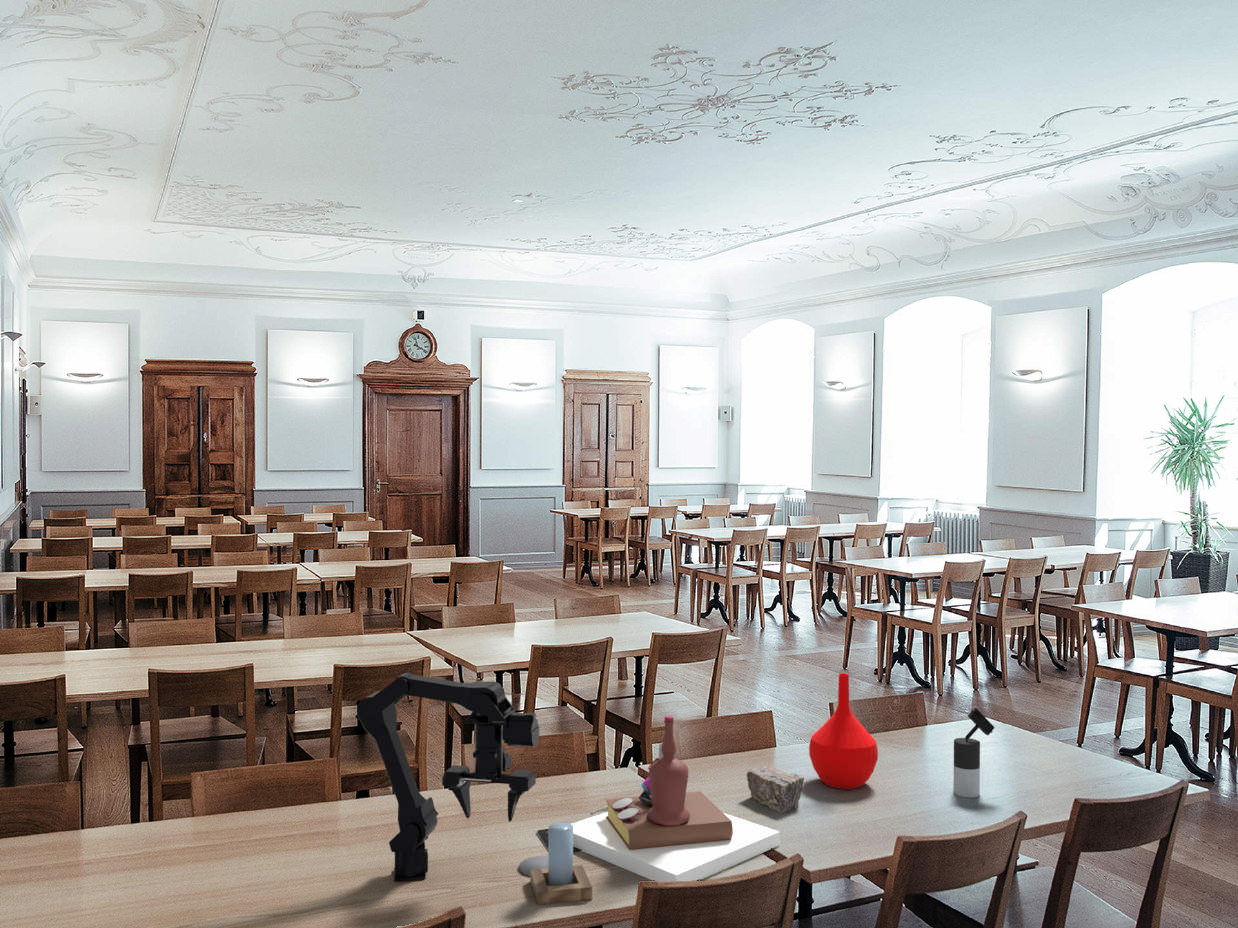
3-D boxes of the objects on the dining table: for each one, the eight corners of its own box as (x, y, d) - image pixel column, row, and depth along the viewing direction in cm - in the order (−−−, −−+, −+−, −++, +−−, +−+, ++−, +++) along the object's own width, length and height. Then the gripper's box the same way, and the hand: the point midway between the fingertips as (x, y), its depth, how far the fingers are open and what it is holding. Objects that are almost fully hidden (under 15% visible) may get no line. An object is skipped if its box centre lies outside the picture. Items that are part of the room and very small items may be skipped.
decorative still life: (653, 802, 261) (654, 683, 261) (779, 846, 233) (780, 712, 232) (549, 838, 237) (550, 706, 237) (676, 891, 208) (677, 742, 208)
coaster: (522, 878, 213) (522, 876, 213) (516, 860, 223) (516, 857, 223) (569, 875, 215) (569, 872, 215) (561, 856, 225) (561, 854, 225)
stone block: (808, 807, 258) (809, 777, 258) (783, 814, 253) (783, 784, 253) (769, 792, 269) (769, 763, 269) (744, 798, 264) (744, 769, 264)
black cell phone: (551, 854, 226) (535, 830, 240) (551, 858, 226) (535, 833, 240) (583, 850, 228) (566, 826, 242) (583, 854, 228) (566, 830, 242)
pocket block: (537, 904, 201) (537, 891, 201) (530, 881, 212) (530, 869, 212) (592, 899, 203) (592, 886, 203) (582, 877, 214) (582, 865, 214)
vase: (825, 768, 290) (826, 664, 289) (888, 781, 279) (888, 672, 279) (797, 785, 275) (798, 675, 274) (861, 799, 264) (862, 684, 264)
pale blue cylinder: (550, 896, 205) (550, 832, 205) (546, 886, 210) (546, 823, 209) (574, 894, 206) (575, 830, 206) (570, 884, 211) (570, 821, 211)
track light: (972, 809, 266) (1022, 753, 268) (930, 766, 264) (981, 709, 266) (960, 801, 273) (1009, 746, 275) (918, 758, 270) (968, 703, 273)
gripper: (543, 736, 217) (543, 809, 217) (461, 731, 221) (461, 803, 221) (526, 751, 206) (527, 827, 206) (440, 745, 210) (441, 821, 211)
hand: (489, 819), depth 211 cm, fingers open, 9 cm apart
